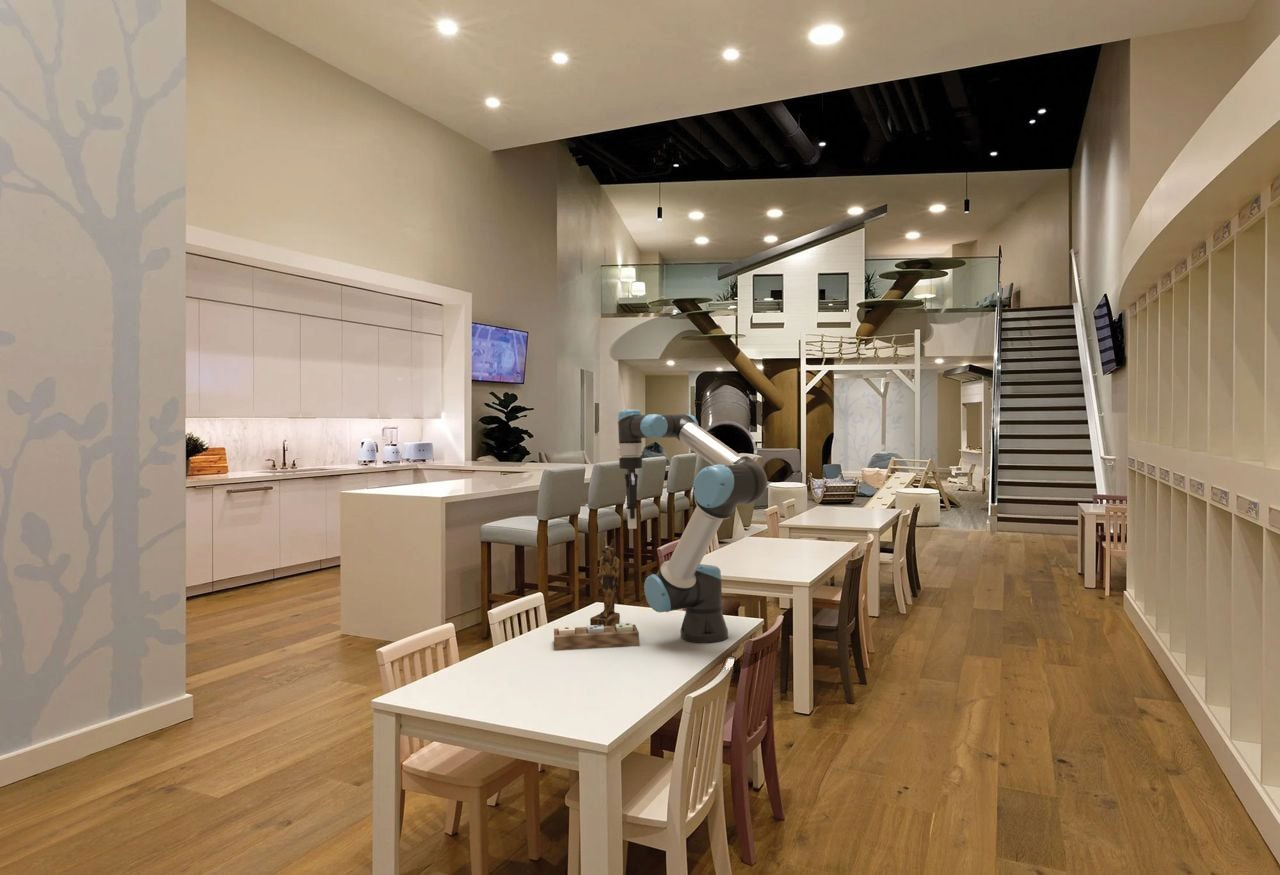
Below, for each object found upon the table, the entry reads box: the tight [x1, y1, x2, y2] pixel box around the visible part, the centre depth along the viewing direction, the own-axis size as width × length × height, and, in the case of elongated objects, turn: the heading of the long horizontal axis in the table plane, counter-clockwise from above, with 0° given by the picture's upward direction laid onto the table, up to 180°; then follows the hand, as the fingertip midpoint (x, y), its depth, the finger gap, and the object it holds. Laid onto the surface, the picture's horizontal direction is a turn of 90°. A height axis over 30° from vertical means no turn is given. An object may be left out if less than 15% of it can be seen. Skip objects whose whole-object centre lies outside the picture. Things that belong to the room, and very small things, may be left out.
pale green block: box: [616, 622, 633, 632], centre depth 253 cm, size 5×5×4 cm
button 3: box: [586, 625, 604, 633], centre depth 252 cm, size 5×5×4 cm
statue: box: [589, 538, 621, 626], centre depth 272 cm, size 8×11×30 cm
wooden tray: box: [553, 624, 640, 651], centre depth 252 cm, size 26×11×4 cm, turn 97°
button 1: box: [558, 625, 576, 635], centre depth 251 cm, size 5×5×4 cm
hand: (632, 528), depth 264 cm, fingers closed
